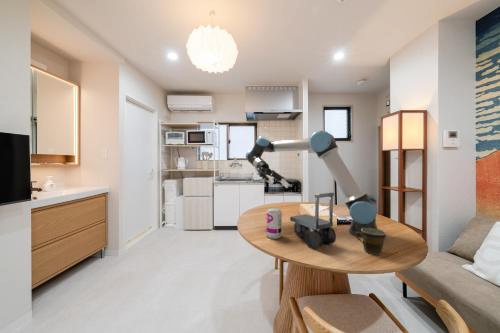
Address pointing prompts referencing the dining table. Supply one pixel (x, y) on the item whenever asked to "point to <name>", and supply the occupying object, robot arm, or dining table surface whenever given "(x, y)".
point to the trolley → (316, 225)
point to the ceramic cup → (372, 240)
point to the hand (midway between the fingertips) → (280, 184)
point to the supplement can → (274, 223)
